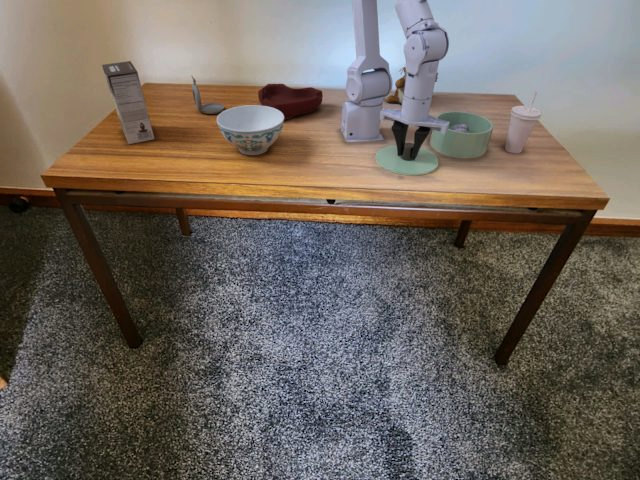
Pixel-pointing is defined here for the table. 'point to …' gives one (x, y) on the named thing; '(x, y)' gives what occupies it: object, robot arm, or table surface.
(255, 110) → the chinaware
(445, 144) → the crock
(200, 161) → the table surface
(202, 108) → the pocket watch
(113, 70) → the coffee box
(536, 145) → the table surface
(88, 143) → the table surface
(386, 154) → the lid
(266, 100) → the dark red heart-shaped dish
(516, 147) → the smoothie
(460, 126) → the seashell
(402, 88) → the stuffed squirrel
